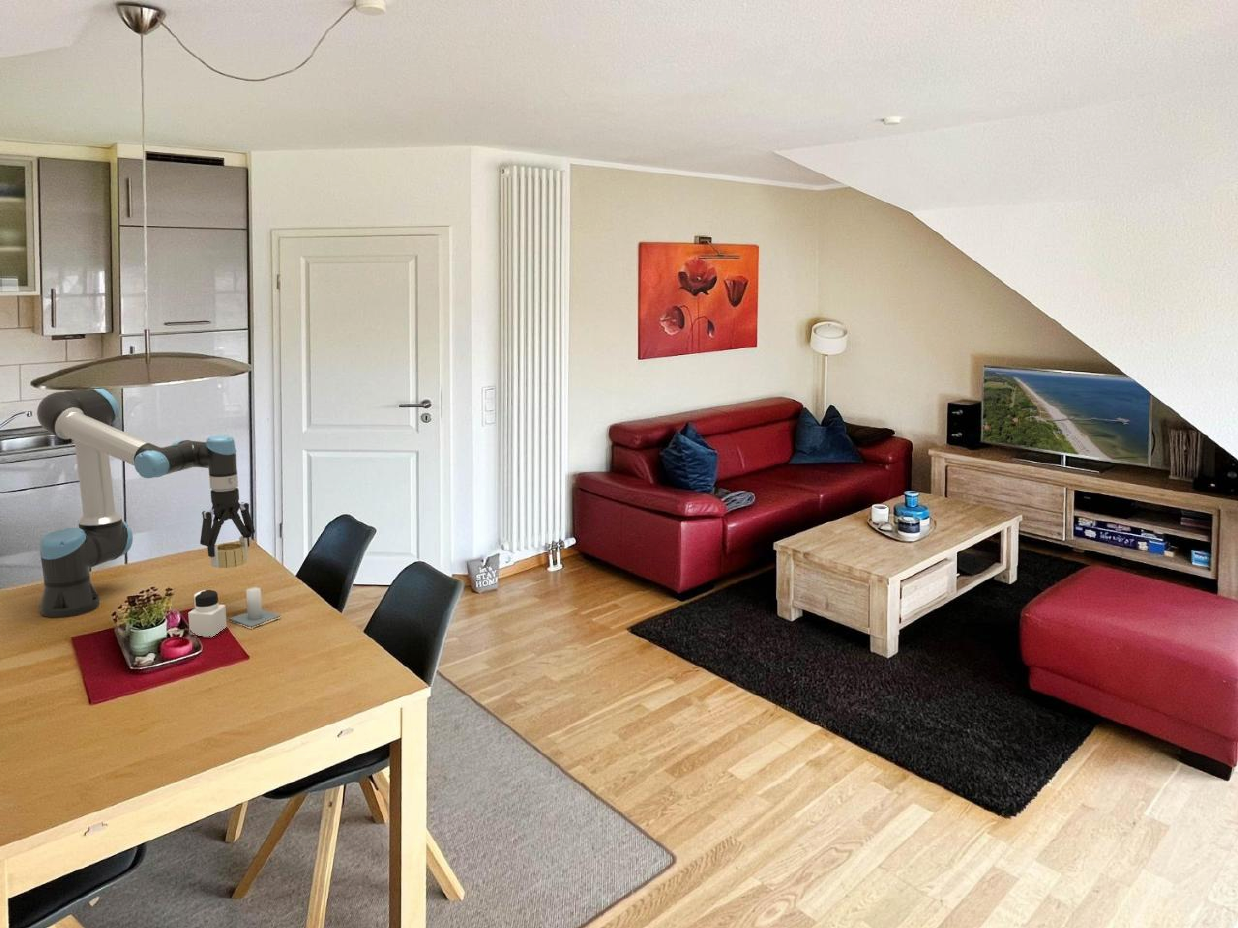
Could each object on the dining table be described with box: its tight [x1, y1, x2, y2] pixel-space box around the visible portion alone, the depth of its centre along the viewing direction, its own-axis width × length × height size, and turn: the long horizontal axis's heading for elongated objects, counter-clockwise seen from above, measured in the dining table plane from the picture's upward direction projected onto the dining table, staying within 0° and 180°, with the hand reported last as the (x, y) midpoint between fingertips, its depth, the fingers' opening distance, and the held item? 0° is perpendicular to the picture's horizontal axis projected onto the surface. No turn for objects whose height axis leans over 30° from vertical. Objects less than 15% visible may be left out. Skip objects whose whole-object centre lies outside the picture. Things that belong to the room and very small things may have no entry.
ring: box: [215, 541, 248, 569], centre depth 260 cm, size 9×9×5 cm
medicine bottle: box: [187, 589, 228, 638], centre depth 248 cm, size 7×7×12 cm
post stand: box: [229, 586, 282, 628], centre depth 257 cm, size 10×10×10 cm
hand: (230, 562), depth 260 cm, fingers closed on ring, 9 cm apart
